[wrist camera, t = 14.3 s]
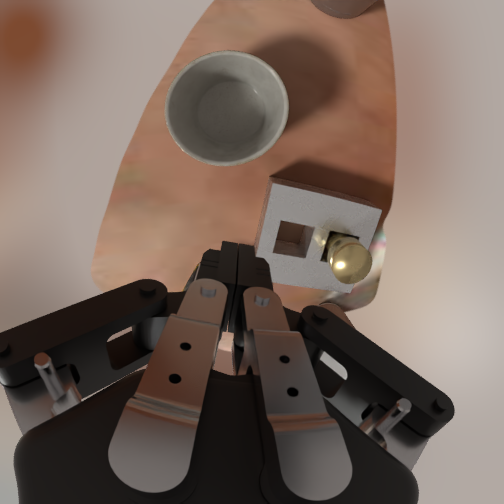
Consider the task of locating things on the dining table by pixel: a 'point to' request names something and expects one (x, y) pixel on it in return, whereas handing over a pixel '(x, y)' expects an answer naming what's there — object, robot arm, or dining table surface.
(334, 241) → the brass knob
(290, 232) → the dining table surface
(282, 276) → the jig
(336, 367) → the coffee cup
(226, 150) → the planter
